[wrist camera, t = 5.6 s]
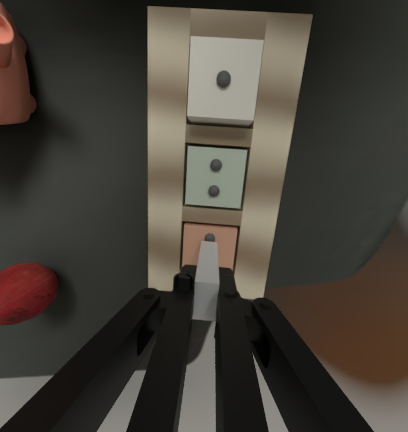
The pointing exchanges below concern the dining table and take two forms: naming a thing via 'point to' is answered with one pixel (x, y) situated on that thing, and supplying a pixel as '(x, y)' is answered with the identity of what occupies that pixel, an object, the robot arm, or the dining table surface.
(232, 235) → the key three
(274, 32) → the key board
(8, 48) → the teapot
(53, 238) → the dining table surface
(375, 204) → the dining table surface
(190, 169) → the key two
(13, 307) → the onion
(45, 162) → the dining table surface
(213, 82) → the key one
